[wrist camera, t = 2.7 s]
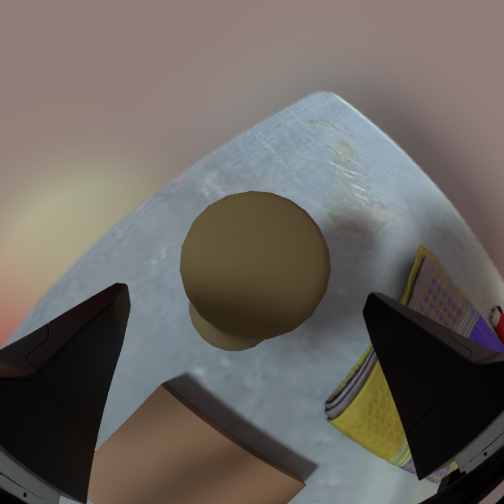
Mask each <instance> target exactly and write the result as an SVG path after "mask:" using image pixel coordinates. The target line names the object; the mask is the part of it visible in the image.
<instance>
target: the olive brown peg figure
mask: <svg viewBox="0 0 504 504" xmlns="http://www.w3.org/2000/svg"><path fill="white" fill-rule="evenodd" d="M180 273H181V277H182V281H183V285H184V289H185V293H186V295H187V297H188V298H189V300H190V306H189V312H190V316H191V320H192V323H193V326H194V327H195V329H196V330H197V332H198V333H199V335H200V336H201V337H202V338H203V339H204V340H206V341H207V342H208V343H210V344H211V345H212V346H215V347H217V348H220V349H223V350H226V351H242V350H245V349H248V348H252V347H255V346H256V345H257V344H259V343H260V342H261V341H263V340H264V339H270V338H273V337H276V336H279V335H282V334H285V333H287V332H290V331H293V330H294V329H295V328H297V327H298V326H299V325H300V324H302V323H303V322H304V321H306V320H307V319H308V318H309V317H311V315H312V314H313V312H314V310H315V309H316V307H317V306H318V304H319V303H320V301H321V299H322V298H323V296H324V294H325V293H326V289H327V284H328V280H329V276H330V260H329V250H328V247H327V245H326V242H325V240H324V238H323V235H322V233H321V230H320V228H319V226H318V225H317V224H316V223H315V222H314V220H313V219H312V218H311V217H310V215H309V214H308V213H307V212H306V211H305V210H304V209H302V208H301V207H299V206H298V205H297V204H295V203H294V202H292V201H291V200H289V199H287V198H284V197H281V196H279V195H276V194H273V193H268V192H257V191H249V192H244V193H239V194H234V195H229V196H226V197H224V198H222V199H220V200H218V201H217V202H215V203H213V204H211V205H209V206H208V207H207V208H206V209H205V210H204V211H203V212H202V213H201V214H200V215H199V216H198V217H197V218H196V219H195V220H194V222H193V224H192V226H191V228H190V230H189V232H188V234H187V237H186V239H185V241H184V243H183V246H182V251H181V262H180Z"/></svg>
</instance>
